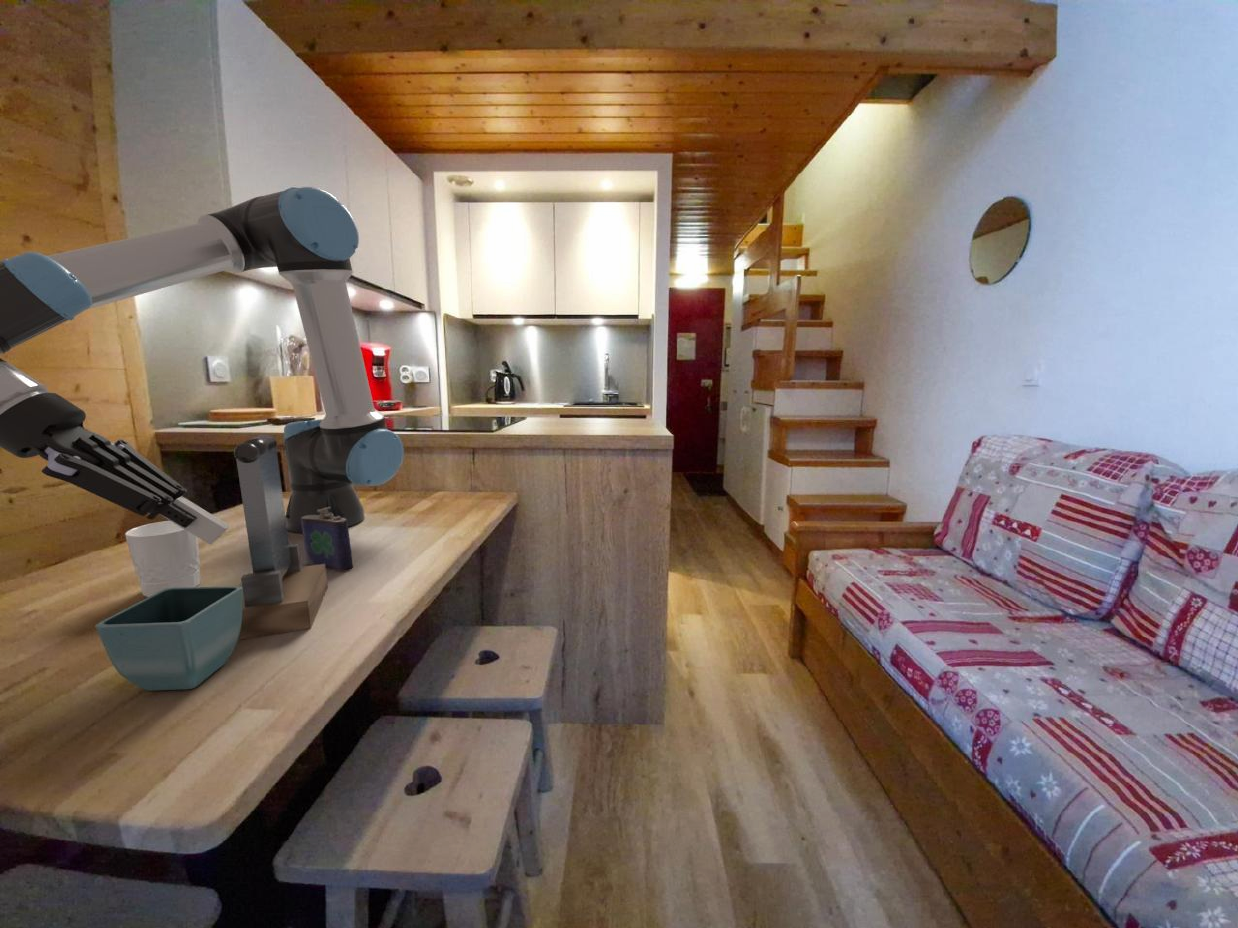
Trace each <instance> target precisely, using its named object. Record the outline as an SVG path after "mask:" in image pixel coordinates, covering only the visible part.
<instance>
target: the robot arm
mask: <svg viewBox="0 0 1238 928" xmlns="http://www.w3.org/2000/svg"><path fill="white" fill-rule="evenodd" d="M359 240H360V239H359V230H358V226H357V225H356V222H355V220H354V217H353V216H352V214H351V212H350V211H349V210H348V209H347V208H346V206H345V205H344V204H342V203H341V202H340V201H339V200H338V198H337V197H335V196H334V195H332V194H331V193H329V192H328V191H325V190H323V189H320V188H318V187H314V186H303V187H288V188H287V189H285V190H282V191H279V192H277V191H276V192H274V193H273V192H272V193H270V194H266V195H265V194H264V195H260V196H255V197H252V198H250V199H248V200H246V201H243V202H241V203H238V204H236V205H233V206H231V207H228V208H225V209H222V210H220V211H215V212H212V213H208V214H204V215H200V217H198V219H197V223H194V224H190V225H186V226H182V227H181V226H179V227H176V228H171V229H166V230H163V231H162V230H161V231H156V232H153V233H148V234H144V235H139V236H134V237H130V238H126V239H120V240H114V241H110V242H106V243H101V244H97V245H92V246H86V247H82V248H78V249H73V250H68V251H63V252H59V253H54V254H50V255H49V254H48V255H44V254H42V253H39V252H34V251H27V252H24V253H21V254H17V255H16V256H12V257H9V258H7V257H6V258H3V259H2V260H1V261H0V356H1V355H2V354H5V353H7V352H10V350H11V349H13V348H15V347H18V346H19V345H22V344H23V343H26V342H27V341H29V340H32V339H34V338H35V337H37V336H40V335H41V334H43V333H45V332H48V331H49V330H51V329H54V328H56V327H58V326H59V325H61V324H63V323H65V322H68V321H74V319H75V317H77V316H78V315H80V314H81V313H83V312H85V311H88V310H91V309H94V308H98V307H101V306H105V305H108V304H112V303H116V302H119V301H122V300H127V299H131V298H133V297H136V296H140V295H143V294H146V293H151V292H153V291H154V292H155V291H157V290H161V289H164V288H167V287H168V288H169V287H172V286H174V285H179V284H182V283H185V282H189V281H192V280H196V279H199V278H203V277H207V276H209V275H213V274H217V273H220V272H223V271H228V272H229V273H231V274H240V273H243V272H246V271H250V270H251V271H252V270H257V269H262V268H264V269H265V268H276V267H277V271H278V275H279V276H281V277H282V278H283V279H285V280H286V281H287V282H289V283H290V284H291V286H292V289H293V294H294V297H295V301H296V304H297V309H298V312H299V316H300V320H301V323H302V327H303V331H304V336H305V339H306V342H307V343H306V344H307V347H308V351H309V354H310V357H311V363H312V366H313V370H314V375H315V378H316V381H317V385H318V389H319V394H320V397H321V400H322V405H323V408H324V409H323V410H324V412H325V415H324V418H323V419H322V418H321V419H312V420H302V421H294V422H293V421H292V422H289V423H286V424H285V426H284V429H283V444H284V447H285V453H286V460H287V461H286V462H287V469H288V476H289V477H288V478H289V484H290V495H289V496H290V497H289V501H288V503H287V507H286V512H285V518H286V525H287V531H289V532H292V533H297V534H298V533H299V534H303V532H302V525H301V517H303V516H306V515H319V514H320V513H319V512H318V511H317V510H318V509H319V510H320V509H322V508H325V507H331V508H330V509H329V508H328V512H331V513H333V516H334V517H338V516H341V518H345V519H347V521H348V528H349V527H352V526H354V525H357V524H360V522H362V521H363V520H364V519H365V509H364V506H363V504H362V503H361V500H360V498H359V496H358V494H357V492H356V490H355V488H354V485H356V486H360V487H362V486H363V487H364V486H368V487H369V486H371V487H375V486H380V485H383V484H385V483H387V482H389V481H390V480H391V479H392V478H393V477H395V475H397V473H398V470H399V468H401V466H402V463H403V460H404V454H405V453H404V452H405V451H404V445H403V442H402V440H401V438H400V437H399V435H397V434H395V432H393V430H390V429H388V427H387V424H386V419H385V415H384V413H382V412H381V411H379V410H377V409H376V408H375V407H374V402H373V401H374V400H373V397H372V393H371V388H370V385H369V384H370V383H369V380H368V376H367V375H368V374H367V370H366V366H365V361H364V357H363V351H362V349H361V345H360V344H361V343H360V339H359V335H358V331H357V325H356V321H355V317H354V313H353V309H352V305H351V304H352V303H351V299H350V294H349V290H348V286H347V282H348V280H349V279H350V277H351V276H352V275H353V273H354V271H353V268H352V262H351V258H352V256H354V254H356V249H357V248H358V247H359V243H360V241H359ZM86 418H87V414H86V412H85V410H83V409H81V408H79V407H78V406H77V405H75V404H74V403H72V402H71V401H69V400H67V399H66V398H64V397H63V396H61V395H60V394H58V393H56V392H49V388H48V387H47V386H46V385H45V384H43V383H41V382H40V381H38V380H37V379H35V378H34V377H32V376H30V375H29V374H27V373H25V372H24V371H23V370H21V369H20V368H18V367H16V366H15V365H13V364H11V363H9V362H7V361H6V360H5V359H2V358H1V357H0V448H1V449H3V450H4V451H7V452H8V453H10V454H12V455H14V456H16V457H17V458H20V459H21V458H22V459H29V458H34V457H37V456H40V458H42V459H43V460H45V461H47V462H48V463H47V464H46V466H45V467H43V468H42V469H41V472H42V474H43V475H46V476H48V477H51V478H53V479H57V480H60V481H63V482H66V483H69V484H71V485H73V486H76V487H77V488H80V489H82V490H85V491H87V492H89V493H91V494H93V495H96V496H98V497H99V498H102V499H104V500H106V501H108V502H111V503H112V504H115V505H117V506H119V507H122V508H123V509H126V510H128V511H130V512H132V513H134V514H137V515H139V516H141V517H142V516H143V517H145V516H146V519H148V520H155V518H157V517H158V516H159V515H160V516H161V517H163V518H165V519H167V521H171V522H173V523H175V524H176V525H178V526H180V527H181V528H183V529H185V530H186V531H188V532H190V533H191V534H193V535H195V536H197V539H198V538H199V539H201V540H202V541H203V542H205V543H206V544H208V545H210V546H211V545H213V543H215V541H217V540H218V539H219V538H220V537H221V536H222V535H223V533H224V534H225V532H226V531H227V530H228V529H229V528H230V527H231V525H230V524H228V523H226V522H225V521H223V520H221V519H219V518H218V517H217V516H216V515H213V514H212V513H210V512H208V511H207V510H205V509H203V508H202V507H200V506H199V505H197V504H196V503H194V502H193V501H190V500H189V499H188V498H186V497H184V494H186V492H188V490H187V488H186V487H183V486H182V485H181V484H180V483H178V482H177V481H176V480H175V479H173V478H172V477H170V476H169V475H168V474H166V473H165V472H164V471H163V470H161V469H160V468H159V467H157V466H156V465H154V463H152V462H151V461H150V460H148V459H147V458H146V457H144V456H143V455H142V454H140V453H139V452H138V451H137V450H136V449H135V448H134V447H133V446H132V445H131V443H129V441H126V440H125V439H121V438H119V439H117V441H115V443H114V442H111V441H110V440H109V439H107V438H106V437H104V436H103V435H101V434H98V433H96V432H93V431H91V430H90V429H87V428H85V427H84V422H85V421H86Z"/></svg>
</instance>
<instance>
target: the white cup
mask: <svg viewBox="0 0 1238 928" xmlns="http://www.w3.org/2000/svg"><path fill="white" fill-rule="evenodd" d="M125 539H126V542H127V546H128V549H129V554H130V558H131V561H132V565H133V568H134V569H135V570H134V571H135V573H136V577H137V579H138V580H139V585H140V589H141V592H142V593H141V594H142V596H144V597H146V598H148V597H150V596H152V595H154V594H156V593H158V592H159V591H162V590H164V589H167V588H190V587H199V585H200V584H201V573H200V566H201V562H200V554H199V550H200V549H199V540H198V537H197V536H195V535H193V534H191V533H190V532H188V531H186V530H185V529H183V528H181V527H180V526H178V525H176V524H175V523H173V522H171V521H170V520H166V521H165V520H164V521H158V522H157V521H156V522H151V523H147V524H144V525H140V526H136V527H133V528H131V529H129V530H127V531H126V532H125Z"/></svg>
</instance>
